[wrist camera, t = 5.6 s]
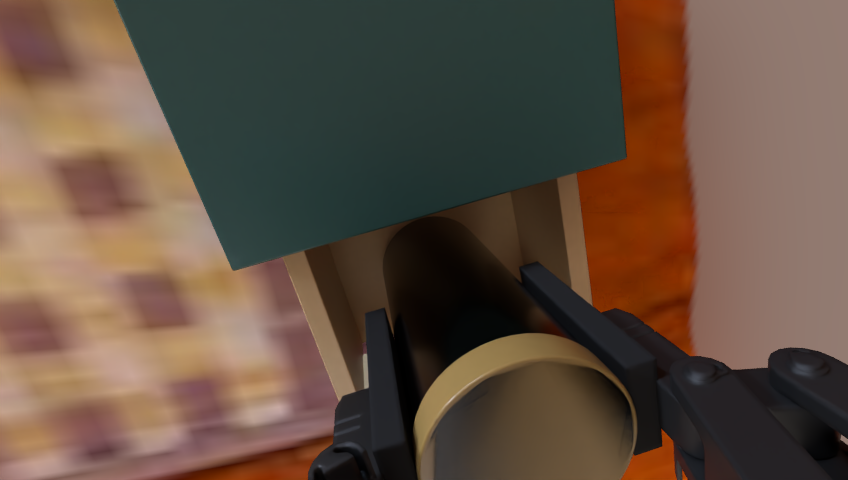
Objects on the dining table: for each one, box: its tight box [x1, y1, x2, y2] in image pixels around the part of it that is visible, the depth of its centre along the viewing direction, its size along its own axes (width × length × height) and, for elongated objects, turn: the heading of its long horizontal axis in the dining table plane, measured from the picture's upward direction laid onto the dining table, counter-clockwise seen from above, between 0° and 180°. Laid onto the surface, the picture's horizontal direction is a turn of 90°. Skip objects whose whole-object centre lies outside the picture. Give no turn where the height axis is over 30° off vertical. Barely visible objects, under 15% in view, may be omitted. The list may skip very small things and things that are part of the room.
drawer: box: [282, 173, 593, 402], centre depth 19 cm, size 19×12×7 cm, turn 14°
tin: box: [383, 216, 637, 480], centre depth 15 cm, size 5×5×12 cm
